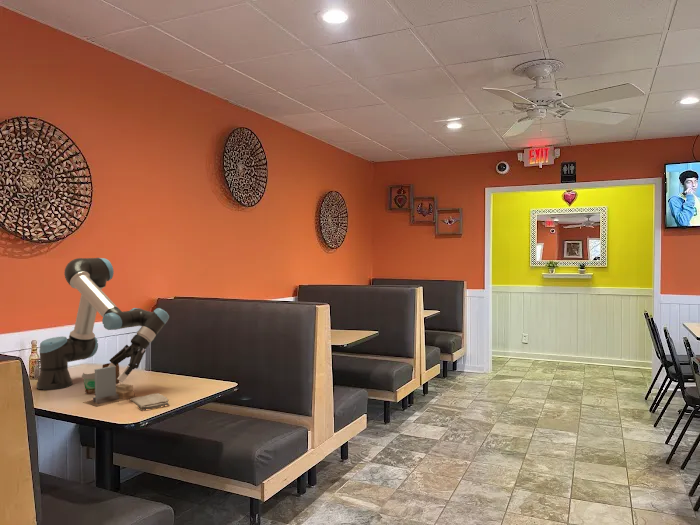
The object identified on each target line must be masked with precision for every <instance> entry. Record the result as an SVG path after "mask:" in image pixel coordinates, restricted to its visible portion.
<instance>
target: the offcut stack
mask: <svg viewBox="0 0 700 525" xmlns="http://www.w3.org/2000/svg"><path fill="white" fill-rule="evenodd" d="M116 394H119V398H121V399H126V398H131V397H134V396H135V391H134V385H132V384H126V383H120V384H116Z"/></svg>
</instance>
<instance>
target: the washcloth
mask: <svg viewBox="0 0 700 525" xmlns="http://www.w3.org/2000/svg"><path fill="white" fill-rule="evenodd" d="M130 401H131V402H132V403H134V404H136V405H137V408H138V407H139V408H140V409H141V410H144V411H147V410H146V409H151V410H153V409H152V408H156V409H158V408H157V407H161V406H165V405H169V406H170V404H169V399H168V398H167V396H164V395H163V394H160V393H159V392H157V393H151V394H147V395H144V396H143V395H142V396H136V397H135V398H131V399H130ZM139 408H138V409H139ZM140 409H139V410H140ZM141 410H140V411H141Z"/></svg>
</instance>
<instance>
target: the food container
mask: <svg viewBox="0 0 700 525" xmlns="http://www.w3.org/2000/svg"><path fill="white" fill-rule="evenodd" d="M81 378H82V379H83V383H84V384H83V385H84V390H85V394H87V395H92V394H93V395H95V372H93V373H84V372H82V375H81Z"/></svg>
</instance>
